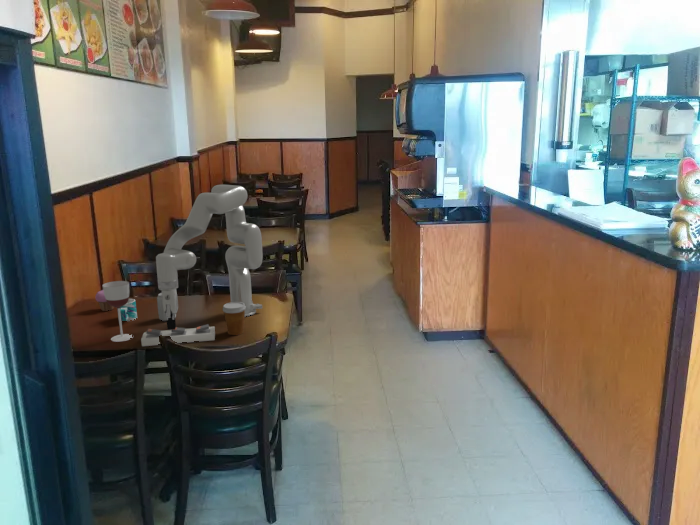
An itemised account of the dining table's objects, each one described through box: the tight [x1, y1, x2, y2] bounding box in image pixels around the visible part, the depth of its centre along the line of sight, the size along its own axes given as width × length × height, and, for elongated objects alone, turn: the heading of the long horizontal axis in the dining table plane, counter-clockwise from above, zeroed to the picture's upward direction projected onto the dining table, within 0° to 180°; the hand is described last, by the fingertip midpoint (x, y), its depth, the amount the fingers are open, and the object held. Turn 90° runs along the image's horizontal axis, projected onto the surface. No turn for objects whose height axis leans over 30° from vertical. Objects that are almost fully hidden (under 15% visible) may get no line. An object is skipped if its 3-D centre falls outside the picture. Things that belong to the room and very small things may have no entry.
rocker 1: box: [146, 328, 162, 335], centre depth 229 cm, size 5×3×1 cm, turn 101°
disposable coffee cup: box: [222, 301, 246, 336], centre depth 238 cm, size 10×10×12 cm
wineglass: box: [102, 280, 134, 343], centre depth 233 cm, size 9×10×23 cm
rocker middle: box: [171, 326, 186, 333], centre depth 230 cm, size 5×3×1 cm, turn 101°
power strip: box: [140, 326, 216, 347], centre depth 232 cm, size 28×8×3 cm, turn 101°
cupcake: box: [95, 289, 114, 312], centre depth 271 cm, size 9×9×10 cm
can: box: [156, 292, 177, 322], centre depth 256 cm, size 8×8×12 cm
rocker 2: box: [195, 323, 210, 332], centre depth 232 cm, size 5×3×1 cm, turn 101°
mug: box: [116, 298, 138, 322], centre depth 256 cm, size 8×12×8 cm
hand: (171, 328), depth 230 cm, fingers closed
